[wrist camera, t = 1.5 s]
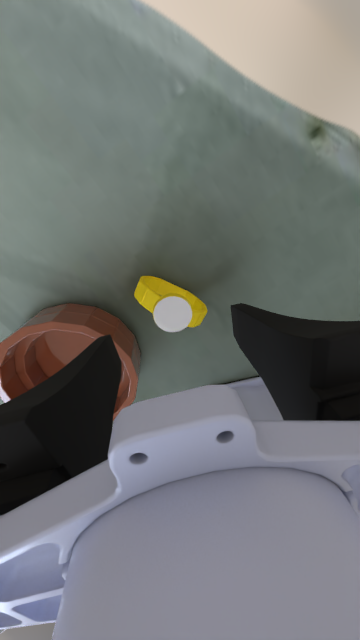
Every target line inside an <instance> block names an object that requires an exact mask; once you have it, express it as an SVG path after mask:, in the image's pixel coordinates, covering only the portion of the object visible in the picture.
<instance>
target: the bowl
mask: <svg viewBox="0 0 360 640" xmlns="http://www.w3.org/2000/svg"><path fill="white" fill-rule="evenodd" d="M109 334H110V335H111V337H112V340H113V342H114V345H115V347H116V349H117V352H118V354H119V357H120V359H121V362H122V367H121V379H120V384H119V389H118V394H117V399H116V404H115V409H114V415H113V421H114V419H115V418H116V417H117V415H118V414H119V412H120V411H121V410H122V409H123V408H125V407H127V406H130V405H131V404H132V402H133V401H134V400H135V397H136V391H137V384H138V377H139V367H140V357H141V354H140V351H139V347H138V344H137V341H136V338H135V336H134V334H133V333H132V332H131V331H130V330H129V329H128V328H127V327H126V326H125V324H124V323H123V322H122V321H121V320H120V319H119V318H117V317H115V316H113V315H111V314H109V313H107V312H106V311H104V310H102V309H100V308H98V307H94V306H87V305H80V304H73V303H68V304H63V305H58V306H54V307H49V308H45V309H43V310H42V311H40V312H39V313H38V314H36V315H35V316H34V317H32V318H31V319H29V320H28V321H27V322H25V323H24V324H23V325H22V326H21V327H19V328H18V329H17V330H16V331H14V332H13V333H12V334H11V335H9V336H8V337H7V338H6V339H4V340H3V341H2V342H1V343H0V398H1V399H2V400H3V402H4V403H6V402H8V401H10V400H12V399H14V398H16V397H18V396H19V395H21V394H23V393H25V392H27V391H29V390H30V389H32V388H33V387H35V386H37V385H38V384H40V383H42V382H43V381H45V380H47V379H48V378H50V377H51V376H52V375H54V374H55V373H57V372H58V371H59V370H61V369H62V368H63V367H65V366H66V365H67V364H68V363H70V362H71V361H72V360H73V359H74V358H76V357H77V356H78V355H79V354H80V353H81V352H82V351H84V350H85V349H86V348H87V347H88V346H89V345H90V344H91V343H92V342H94V341H95V340H96V339H97V338H99V337H101V336H105V335H109Z"/></svg>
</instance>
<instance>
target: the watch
mask: <svg viewBox="0 0 360 640" xmlns="http://www.w3.org/2000/svg"><path fill="white" fill-rule="evenodd" d="M159 294H160V295H159ZM161 295H162V296H161ZM134 296H135V298H136V299H137V300H138V302H139V303H140V304H141V305H142V306H143V307H144V308H146V309H147V310H149V311H150V312H151V313H153V319H154V321H155V323H156V324H157V325H158V327H159V328H161V329H162V330H164V331H168V332H178V331H181V330H183V329H184V328H186V327H195V326H198V325H200V324H201V322H202V320H203V318H204V317H205V315H206V313H207V308H206V305H205V304H204V303H203V302H202V301H201V300H200V299H198V298H197V297H196V296H194V295H193V294H191V293H190V292H189V291H187V290H184V289H182V288H180V287H178V286H175V285H173V284H171V283H169V282H167V281H165V280H163V279H161V278H157V277H153V276H142V277H141V278H140V280H139V282H138V285H137V287H136V290H135V293H134Z"/></svg>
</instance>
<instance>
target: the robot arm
mask: <svg viewBox="0 0 360 640" xmlns="http://www.w3.org/2000/svg"><path fill="white" fill-rule="evenodd" d="M231 314H232V323H233V333H234V337H235V339H236V341H237V343H238V345H239V347H240V348H241V350H242V351H243V353H244V354H245V356H246V357H247V358H248V360H249V361H250V363H251V364H252V365H253V367H254V368H255V370H256V371H257V372H258V374H259V375H260V377H256V378H252V379H247V380H243V381H238V382H234V383H229V384H225V385H205V386H201V387H197V388H193V389H189V390H185V391H181V392H177V393H173V394H168V395H164V396H160V397H156V398H152V399H148V400H144V401H140V402H136V403H134V404H132V405H130V406H127V407H125V408H123V409H122V410H121V411H120V412H119V414H118V415H117V417H116V418H115V419H114V423H113V415H114V409H115V404H116V399H117V394H118V389H119V384H120V379H121V367H122V362H121V359H120V357H119V354H118V352H117V349H116V347H115V345H114V342H113V340H112V337H111V335H110V334H109V335H105V336H101V337H99V338H97V339H96V340H95V341H94V342H92V343H91V344H90V345H89V346H88V347H87V348H86V349H85V350H84V351H82V352H81V353H80V354H79V355H78V356H77V357H76V358H74V359H73V360H72V361H71V362H70V363H68V364H67V365H66V366H65V367H63V368H62V369H61V370H59V371H58V372H57V373H55V374H54V375H52V376H51V377H50V378H48V379H47V380H45V381H43V382H42V383H40V384H38V385H37V386H35V387H33V388H32V389H30V390H29V391H27V392H25V393H23V394H21V395H19V396H18V397H16V398H14V399H12V400H10V401H8V402H6V403H4V404H2V405H0V630H2V629H9V628H16V627H23V626H30V625H37V624H44V623H51V622H56V623H55V627H54V631H53V636H52V640H360V321H319V320H308V319H300V318H294V317H289V316H284V315H280V314H276V313H272V312H269V311H265V310H262V309H259V308H256V307H253V306H250V305H246V304H242V303H240V304H235V305H231ZM112 424H113V428H112Z"/></svg>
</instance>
